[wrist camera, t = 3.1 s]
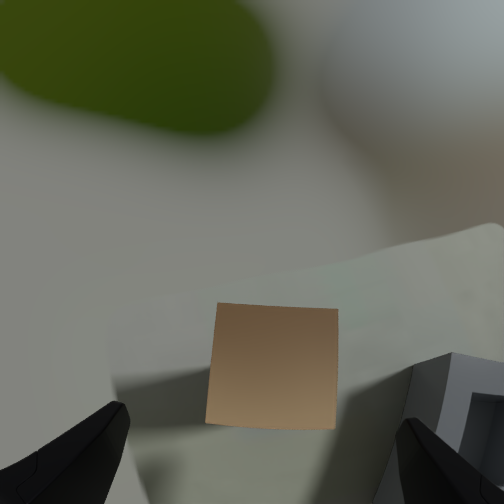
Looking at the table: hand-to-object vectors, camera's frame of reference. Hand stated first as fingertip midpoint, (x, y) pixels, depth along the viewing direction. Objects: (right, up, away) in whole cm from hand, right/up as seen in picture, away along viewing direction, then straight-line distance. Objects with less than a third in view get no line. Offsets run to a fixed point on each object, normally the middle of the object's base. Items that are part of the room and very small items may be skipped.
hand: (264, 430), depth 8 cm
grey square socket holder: (+14, -8, +6) cm, 17 cm away
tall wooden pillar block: (0, -3, +9) cm, 10 cm away
